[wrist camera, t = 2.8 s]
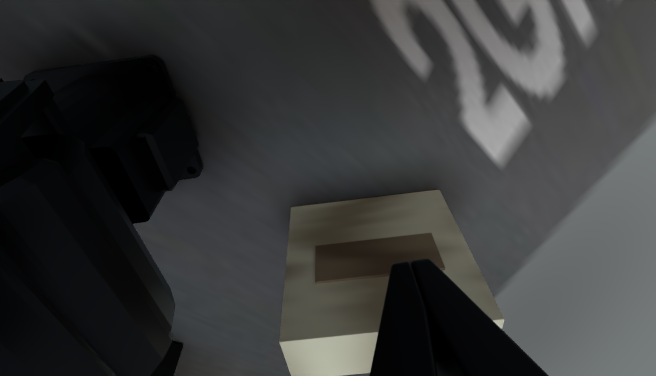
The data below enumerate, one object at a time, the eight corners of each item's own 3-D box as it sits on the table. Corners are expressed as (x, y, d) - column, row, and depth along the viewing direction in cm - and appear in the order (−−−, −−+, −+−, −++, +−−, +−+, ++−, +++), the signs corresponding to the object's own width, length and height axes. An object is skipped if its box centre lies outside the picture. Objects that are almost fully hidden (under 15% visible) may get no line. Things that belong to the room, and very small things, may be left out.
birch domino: (299, 242, 24) (292, 380, 16) (290, 204, 22) (278, 339, 15) (437, 226, 23) (493, 360, 16) (439, 187, 22) (505, 316, 14)
